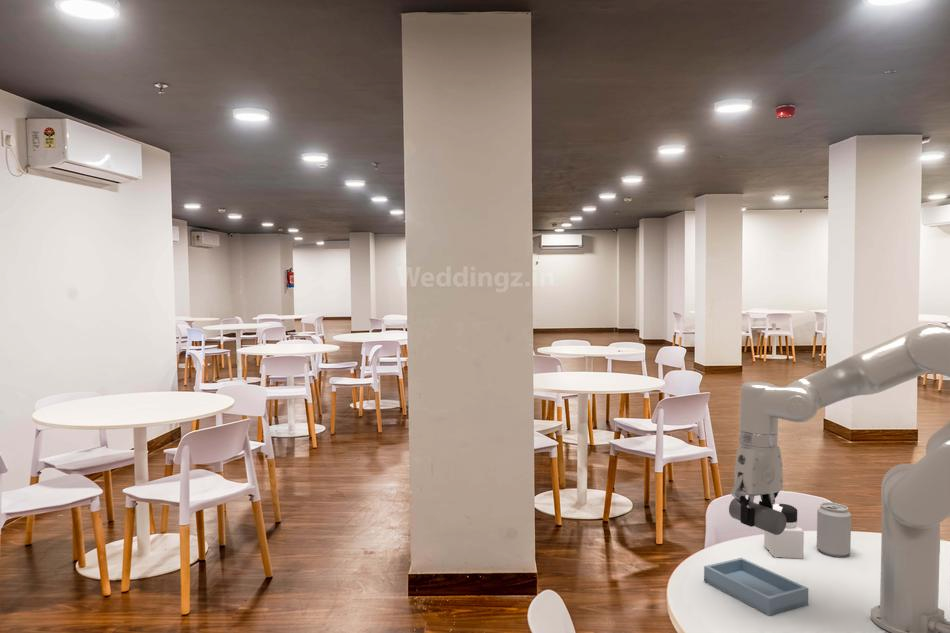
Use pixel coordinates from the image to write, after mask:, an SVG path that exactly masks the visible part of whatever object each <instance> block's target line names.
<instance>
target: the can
mask: <svg viewBox="0 0 950 633" xmlns="http://www.w3.org/2000/svg"><path fill="white" fill-rule="evenodd" d="M816 513H817V515H816V516H817V517H816V547H817V549H818V550H819V551H820V552H821V553H823V554H825V555H827V556H830V557H835V558H836V557H837V558H838V557H840V558H843V557H847V555H849V554H850V553H851V542H852V541H851V539H852V538H851V537H852V536H851V535H852V513H851V512H850V511H849V507H848V506H847V505H844V504H841V503H837V502H831V501H830V502H828V501H827V502H821V503H820V507H818V508H817V512H816Z"/></svg>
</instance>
